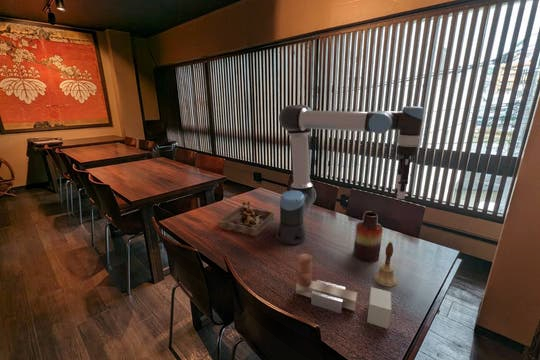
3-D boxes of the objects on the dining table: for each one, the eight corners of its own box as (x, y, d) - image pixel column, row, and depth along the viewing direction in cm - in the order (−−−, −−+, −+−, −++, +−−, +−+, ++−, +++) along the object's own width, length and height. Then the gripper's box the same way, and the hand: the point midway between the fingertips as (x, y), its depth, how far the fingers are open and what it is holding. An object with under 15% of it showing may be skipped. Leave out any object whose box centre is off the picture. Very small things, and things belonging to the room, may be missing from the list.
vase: (366, 265, 106) (372, 221, 100) (348, 252, 115) (352, 211, 109) (384, 258, 111) (390, 216, 105) (365, 246, 120) (369, 207, 114)
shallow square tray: (219, 228, 139) (219, 221, 137) (240, 211, 159) (240, 206, 157) (256, 236, 130) (256, 229, 128) (274, 218, 150) (274, 212, 148)
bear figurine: (233, 228, 138) (232, 208, 135) (241, 217, 152) (240, 198, 149) (257, 230, 136) (257, 210, 132) (263, 218, 150) (262, 199, 146)
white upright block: (367, 322, 79) (369, 303, 77) (368, 304, 86) (371, 286, 84) (388, 329, 76) (391, 310, 74) (388, 310, 83) (390, 292, 81)
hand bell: (369, 273, 101) (374, 238, 97) (389, 271, 102) (395, 237, 97) (380, 287, 93) (385, 250, 89) (401, 286, 94) (408, 248, 89)
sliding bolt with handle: (295, 293, 89) (296, 259, 85) (299, 285, 93) (300, 252, 89) (354, 311, 81) (358, 275, 77) (356, 301, 86) (360, 266, 81)
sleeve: (311, 304, 86) (311, 293, 85) (316, 290, 92) (317, 279, 91) (341, 313, 82) (342, 302, 81) (344, 298, 89) (345, 287, 87)
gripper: (422, 151, 92) (412, 204, 99) (414, 141, 114) (406, 185, 120) (399, 149, 95) (391, 201, 101) (395, 140, 117) (389, 183, 123)
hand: (399, 193), depth 111 cm, fingers open, 13 cm apart
